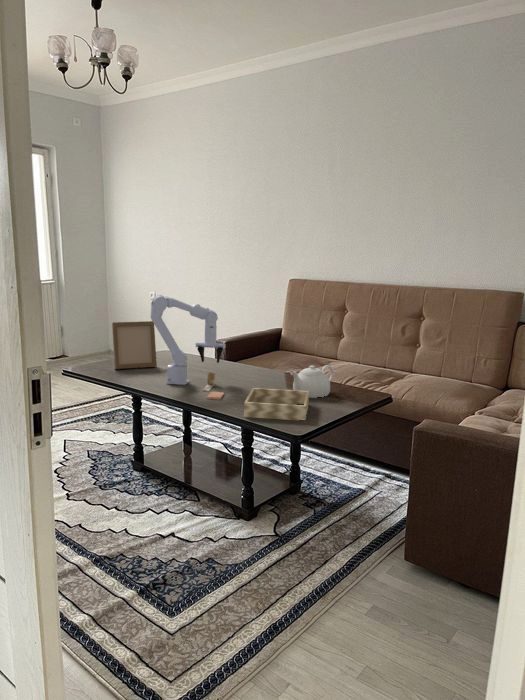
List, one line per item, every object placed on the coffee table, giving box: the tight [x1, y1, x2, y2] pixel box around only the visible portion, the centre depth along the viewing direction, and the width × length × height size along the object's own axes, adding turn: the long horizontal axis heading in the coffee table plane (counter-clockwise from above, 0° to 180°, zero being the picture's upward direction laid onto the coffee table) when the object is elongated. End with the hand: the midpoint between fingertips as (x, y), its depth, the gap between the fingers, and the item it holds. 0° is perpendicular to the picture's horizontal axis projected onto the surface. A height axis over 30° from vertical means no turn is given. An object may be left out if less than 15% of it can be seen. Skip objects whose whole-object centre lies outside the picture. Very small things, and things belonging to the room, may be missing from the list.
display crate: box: [243, 387, 310, 421], centre depth 225 cm, size 24×22×6 cm
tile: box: [206, 391, 225, 401], centre depth 243 cm, size 6×2×8 cm
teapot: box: [290, 364, 335, 399], centre depth 251 cm, size 19×18×14 cm
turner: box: [202, 371, 216, 393], centre depth 257 cm, size 3×13×6 cm, turn 173°
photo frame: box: [111, 320, 158, 370], centre depth 296 cm, size 15×22×25 cm
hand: (210, 361), depth 268 cm, fingers open, 7 cm apart
